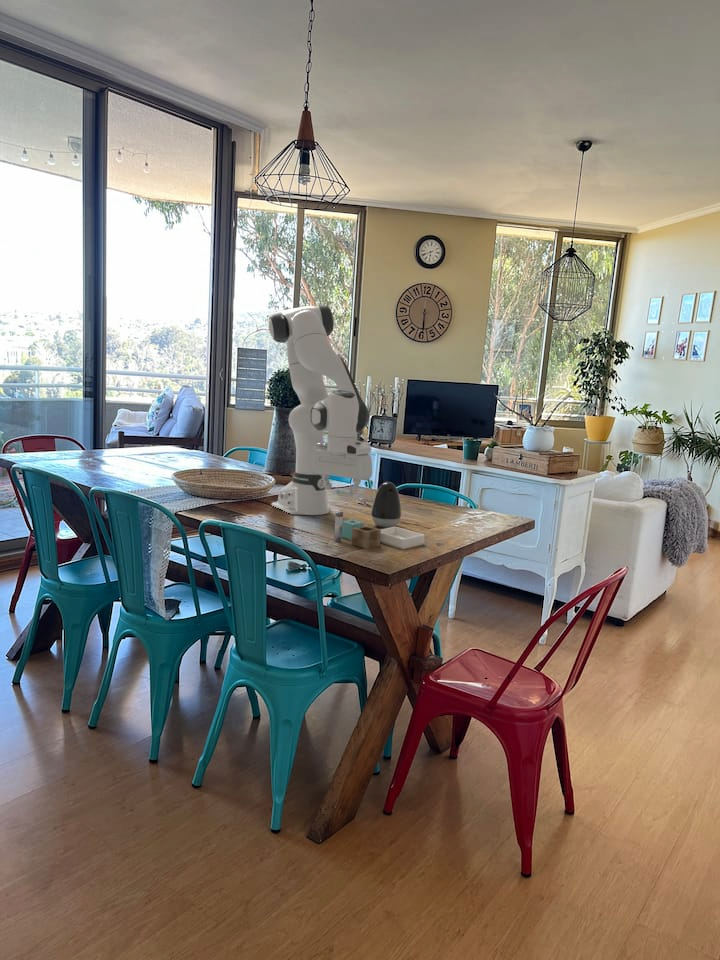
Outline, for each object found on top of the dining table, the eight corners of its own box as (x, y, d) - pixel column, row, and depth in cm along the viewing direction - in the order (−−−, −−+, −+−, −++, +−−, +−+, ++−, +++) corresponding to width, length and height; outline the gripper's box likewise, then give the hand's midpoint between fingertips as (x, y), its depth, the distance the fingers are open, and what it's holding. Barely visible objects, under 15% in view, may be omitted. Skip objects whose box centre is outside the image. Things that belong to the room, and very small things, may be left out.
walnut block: (351, 544, 210) (352, 528, 209) (365, 541, 215) (366, 525, 214) (365, 548, 206) (366, 532, 205) (379, 545, 210) (380, 529, 210)
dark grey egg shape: (375, 530, 229) (378, 484, 226) (366, 522, 239) (369, 478, 236) (404, 529, 232) (408, 484, 229) (394, 522, 242) (397, 479, 239)
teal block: (340, 536, 219) (341, 520, 218) (351, 534, 222) (352, 518, 221) (351, 540, 215) (352, 524, 214) (363, 538, 219) (364, 522, 218)
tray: (372, 540, 216) (373, 530, 216) (394, 535, 224) (395, 526, 223) (402, 549, 208) (403, 539, 207) (424, 544, 215) (424, 534, 215)
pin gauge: (332, 540, 213) (333, 512, 211) (338, 539, 215) (339, 511, 213) (337, 542, 211) (339, 513, 210) (343, 541, 213) (345, 512, 211)
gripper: (308, 443, 211) (307, 487, 213) (363, 449, 199) (361, 497, 202) (321, 441, 216) (319, 485, 218) (375, 448, 205) (374, 494, 207)
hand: (340, 491), depth 210 cm, fingers open, 8 cm apart
